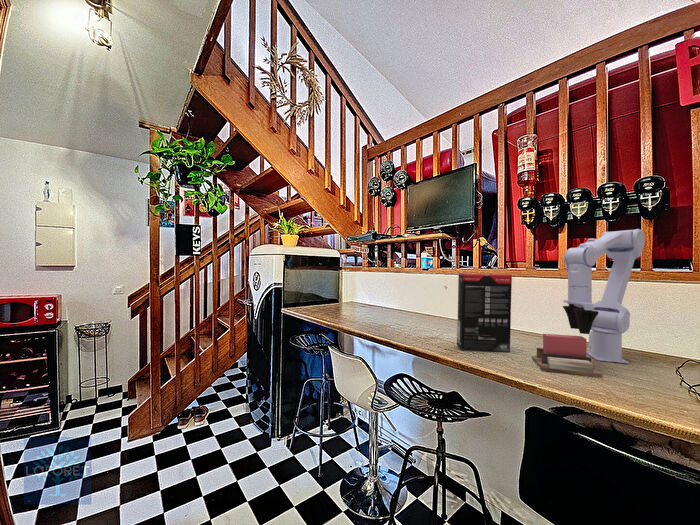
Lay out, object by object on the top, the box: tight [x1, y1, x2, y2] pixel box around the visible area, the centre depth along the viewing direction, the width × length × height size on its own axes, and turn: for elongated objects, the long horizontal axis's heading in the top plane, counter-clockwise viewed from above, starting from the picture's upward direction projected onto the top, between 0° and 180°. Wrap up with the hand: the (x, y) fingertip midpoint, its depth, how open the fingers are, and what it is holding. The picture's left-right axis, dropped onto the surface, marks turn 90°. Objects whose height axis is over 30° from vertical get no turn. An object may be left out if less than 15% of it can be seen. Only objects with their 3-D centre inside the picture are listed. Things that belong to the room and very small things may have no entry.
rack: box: [531, 347, 604, 379], centre depth 87 cm, size 12×14×4 cm
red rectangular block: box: [542, 333, 588, 357], centre depth 89 cm, size 4×10×8 cm, turn 70°
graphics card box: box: [456, 273, 513, 353], centre depth 106 cm, size 17×7×27 cm, turn 84°
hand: (579, 331), depth 90 cm, fingers open, 7 cm apart
